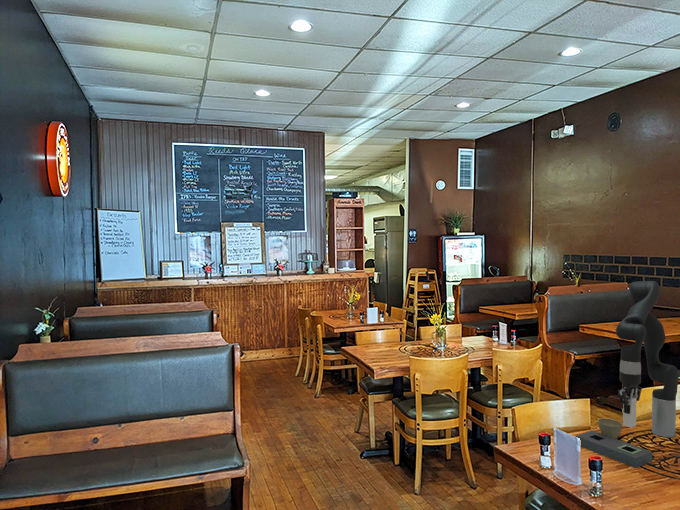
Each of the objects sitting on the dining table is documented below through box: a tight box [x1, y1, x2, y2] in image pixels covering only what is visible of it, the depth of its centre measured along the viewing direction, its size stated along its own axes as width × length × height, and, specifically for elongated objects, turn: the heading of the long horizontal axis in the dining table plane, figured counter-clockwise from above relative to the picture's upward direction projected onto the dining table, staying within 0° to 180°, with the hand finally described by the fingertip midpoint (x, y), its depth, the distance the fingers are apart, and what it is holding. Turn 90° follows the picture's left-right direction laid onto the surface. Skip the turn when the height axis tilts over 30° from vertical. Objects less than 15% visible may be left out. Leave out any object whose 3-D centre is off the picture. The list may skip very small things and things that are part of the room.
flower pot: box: [597, 417, 624, 439], centre depth 221 cm, size 10×10×7 cm
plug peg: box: [621, 396, 637, 429], centre depth 199 cm, size 3×4×12 cm
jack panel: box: [575, 430, 653, 469], centre depth 205 cm, size 12×26×4 cm, turn 30°
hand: (629, 412), depth 199 cm, fingers closed on plug peg, 3 cm apart
